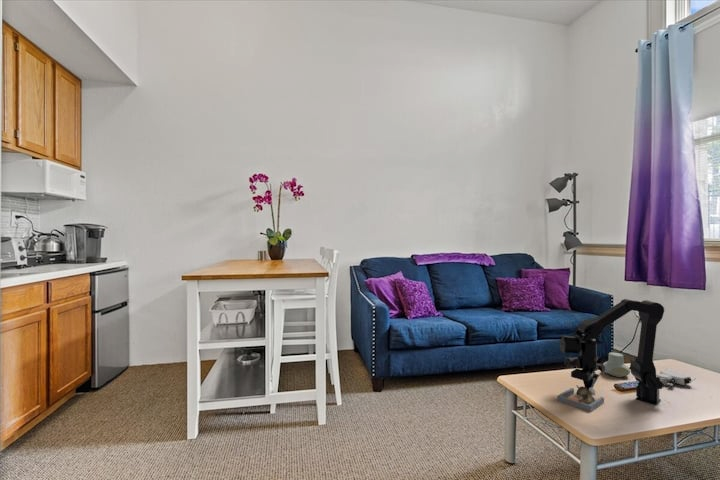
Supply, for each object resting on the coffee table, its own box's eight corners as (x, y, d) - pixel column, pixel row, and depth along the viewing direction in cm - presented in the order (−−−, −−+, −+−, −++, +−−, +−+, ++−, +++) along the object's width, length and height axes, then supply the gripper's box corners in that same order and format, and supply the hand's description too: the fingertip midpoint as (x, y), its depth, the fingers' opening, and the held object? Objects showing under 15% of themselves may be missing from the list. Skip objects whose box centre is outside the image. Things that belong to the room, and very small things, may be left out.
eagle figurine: (570, 392, 151) (570, 396, 143) (581, 379, 150) (582, 382, 142) (588, 406, 147) (590, 411, 139) (600, 393, 146) (602, 397, 138)
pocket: (604, 402, 144) (604, 395, 144) (590, 412, 136) (590, 404, 136) (571, 392, 153) (571, 385, 153) (557, 400, 145) (557, 393, 145)
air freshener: (606, 377, 171) (606, 355, 172) (599, 371, 180) (599, 350, 180) (633, 379, 169) (633, 357, 169) (624, 373, 177) (624, 352, 177)
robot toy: (672, 392, 157) (697, 386, 160) (671, 382, 157) (697, 376, 160) (643, 381, 169) (668, 376, 172) (643, 372, 169) (667, 367, 172)
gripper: (576, 345, 161) (576, 380, 161) (557, 353, 150) (557, 391, 150) (605, 351, 153) (605, 388, 153) (587, 360, 141) (587, 400, 141)
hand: (588, 391), depth 149 cm, fingers closed
